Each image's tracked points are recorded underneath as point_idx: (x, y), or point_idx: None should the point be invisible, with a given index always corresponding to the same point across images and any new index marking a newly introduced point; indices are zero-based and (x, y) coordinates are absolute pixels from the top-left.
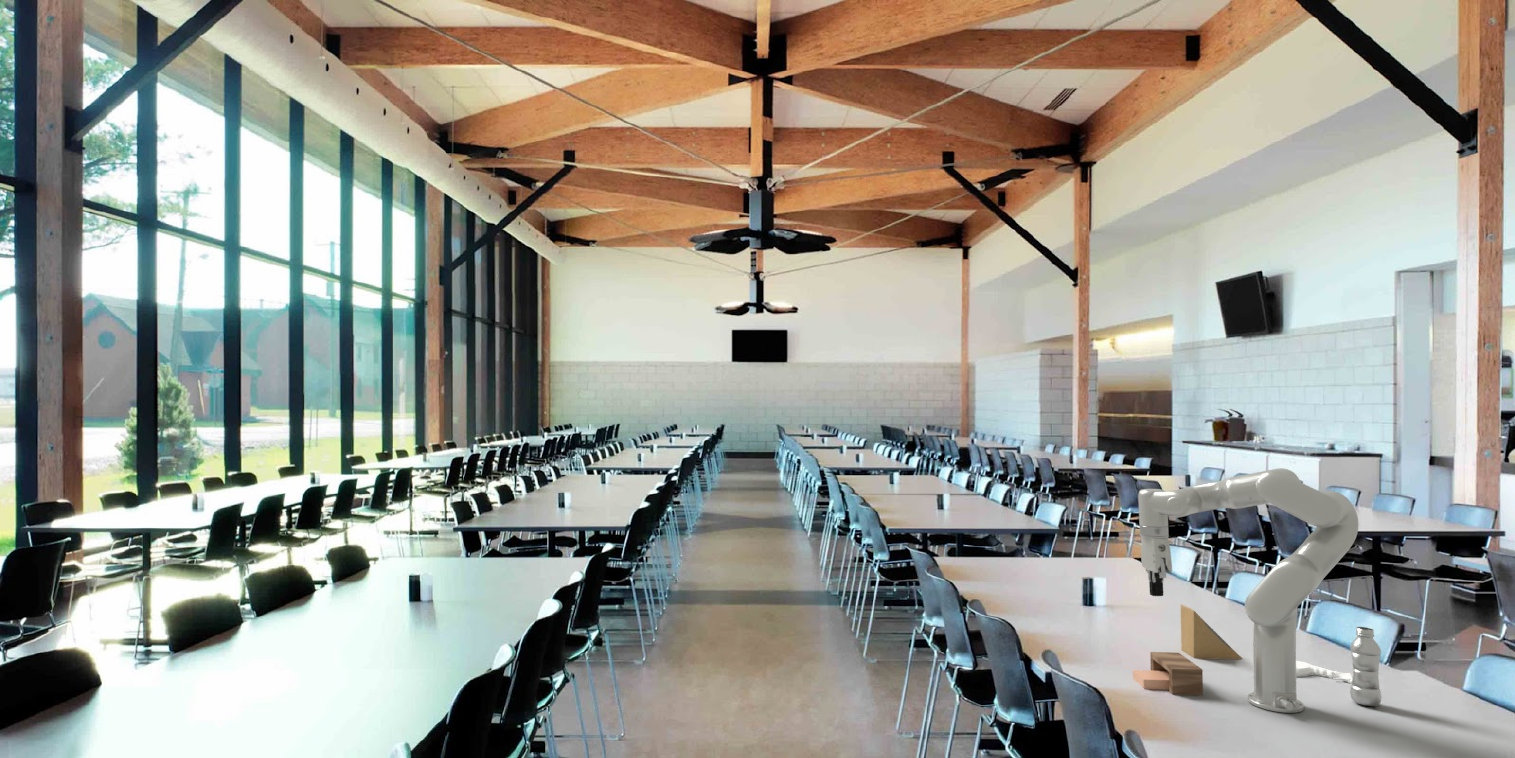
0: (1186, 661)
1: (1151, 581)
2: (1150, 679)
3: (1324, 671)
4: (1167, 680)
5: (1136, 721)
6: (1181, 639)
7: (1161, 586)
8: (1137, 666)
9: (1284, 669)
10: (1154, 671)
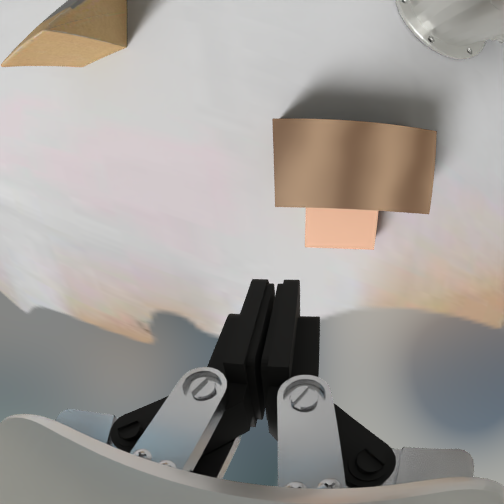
0: (367, 137)
1: (255, 420)
2: (374, 233)
3: None
4: None
5: (491, 309)
6: (66, 65)
7: (294, 342)
8: (208, 193)
9: None
10: None
